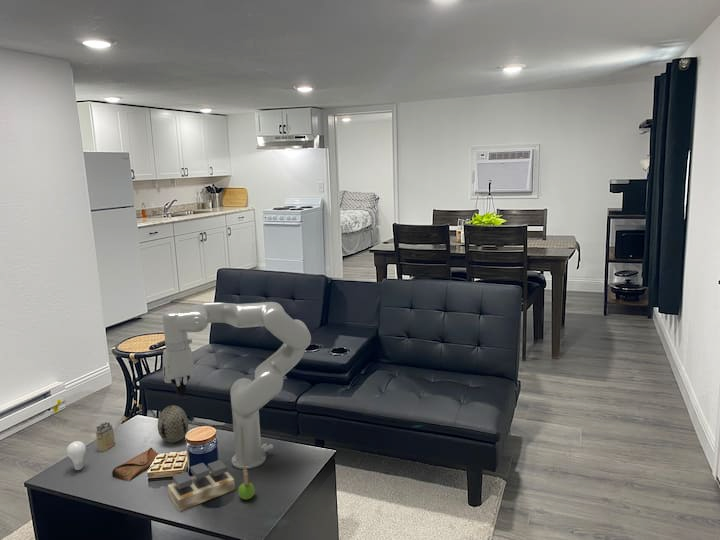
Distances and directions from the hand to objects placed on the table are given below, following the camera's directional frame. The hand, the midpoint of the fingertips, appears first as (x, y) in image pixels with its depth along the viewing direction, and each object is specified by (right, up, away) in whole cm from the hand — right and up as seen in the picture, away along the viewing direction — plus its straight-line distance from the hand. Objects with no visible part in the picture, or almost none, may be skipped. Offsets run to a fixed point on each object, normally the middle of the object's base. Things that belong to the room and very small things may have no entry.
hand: (181, 394), depth 197 cm
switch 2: (+14, -26, -6) cm, 30 cm away
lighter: (-37, -26, +24) cm, 51 cm away
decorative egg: (-11, -25, +27) cm, 39 cm away
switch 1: (+5, -28, -13) cm, 31 cm away
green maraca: (+26, -32, -13) cm, 43 cm away
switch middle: (+9, -26, -10) cm, 29 cm away
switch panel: (+10, -31, -9) cm, 34 cm away
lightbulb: (-40, -29, +8) cm, 51 cm away
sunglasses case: (-18, -29, +8) cm, 35 cm away
